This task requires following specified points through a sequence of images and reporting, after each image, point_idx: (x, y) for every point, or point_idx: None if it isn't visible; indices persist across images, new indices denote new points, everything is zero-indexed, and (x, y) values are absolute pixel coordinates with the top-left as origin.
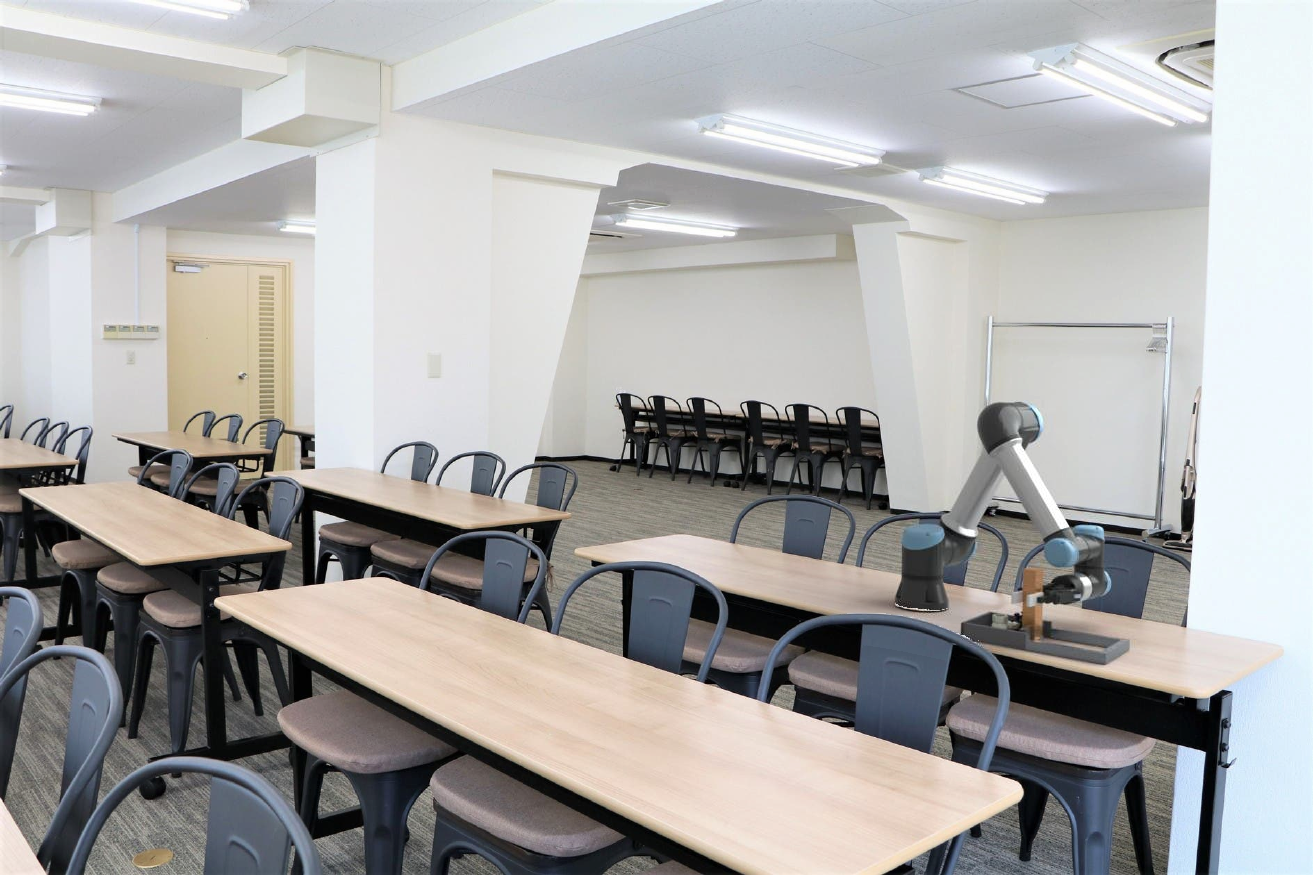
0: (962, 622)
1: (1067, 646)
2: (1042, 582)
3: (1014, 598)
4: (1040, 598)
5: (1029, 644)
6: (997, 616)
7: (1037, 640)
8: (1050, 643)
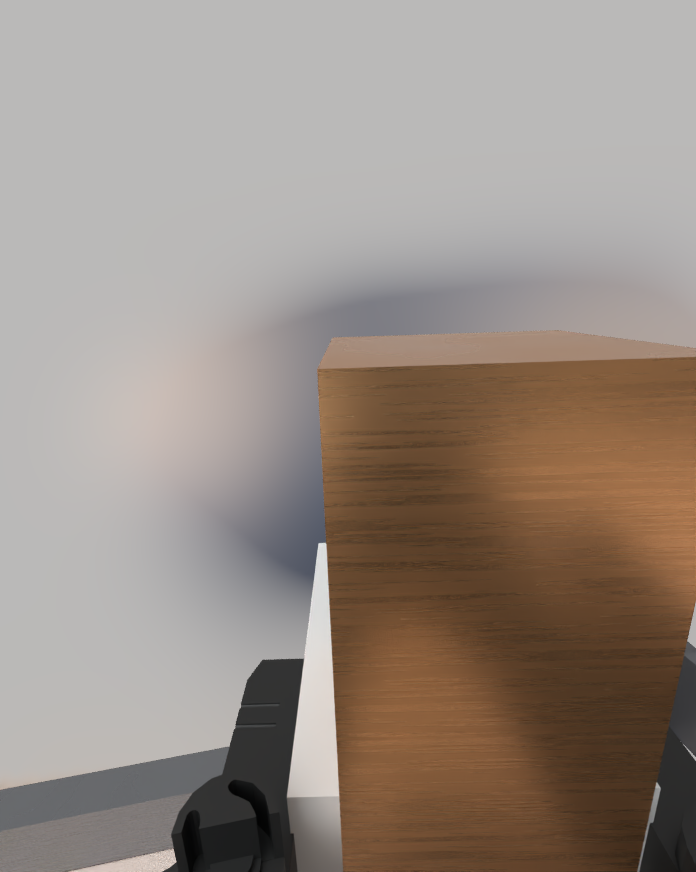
0: (689, 647)
1: (42, 798)
2: (336, 690)
3: None
4: (265, 669)
5: None
6: None
7: None
8: (160, 778)
